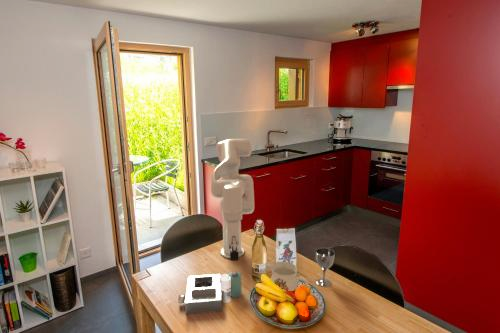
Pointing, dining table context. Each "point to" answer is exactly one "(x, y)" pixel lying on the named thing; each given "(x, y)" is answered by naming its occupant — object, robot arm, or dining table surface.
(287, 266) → the pitcher
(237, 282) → the green drinking glass
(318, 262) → the wine glass
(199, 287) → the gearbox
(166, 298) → the dining table surface
